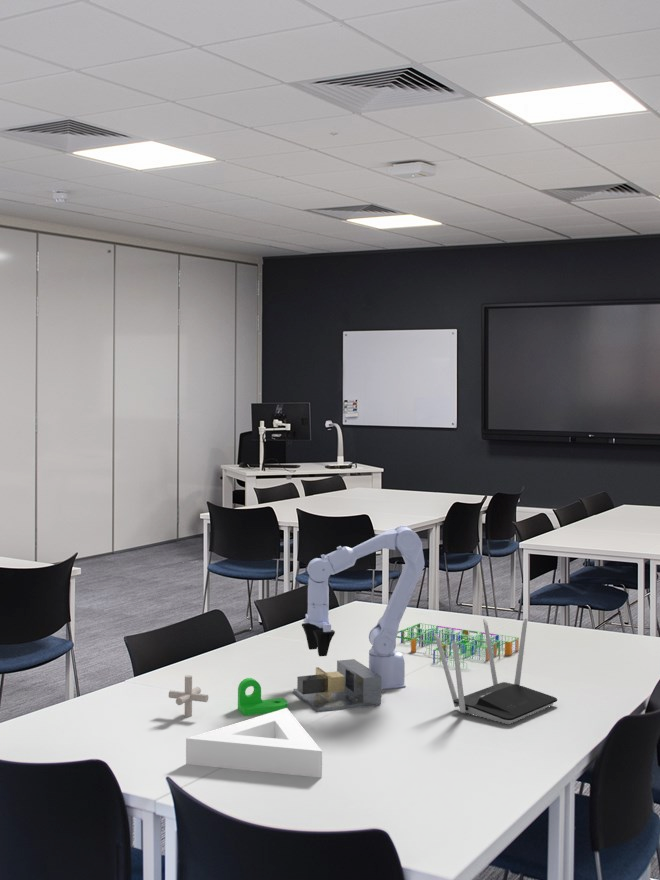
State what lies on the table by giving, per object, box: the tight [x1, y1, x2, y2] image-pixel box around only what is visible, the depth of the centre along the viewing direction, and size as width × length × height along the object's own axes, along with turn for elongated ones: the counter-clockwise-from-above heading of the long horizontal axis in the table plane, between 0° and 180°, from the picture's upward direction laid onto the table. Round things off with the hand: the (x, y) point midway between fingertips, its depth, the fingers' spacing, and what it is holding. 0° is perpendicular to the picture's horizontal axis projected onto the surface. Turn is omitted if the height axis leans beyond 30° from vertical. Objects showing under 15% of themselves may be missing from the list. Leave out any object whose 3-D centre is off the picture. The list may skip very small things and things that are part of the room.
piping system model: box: [396, 622, 520, 669], centre depth 311 cm, size 35×30×5 cm
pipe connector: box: [168, 674, 209, 718], centre depth 246 cm, size 10×10×10 cm
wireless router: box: [434, 618, 558, 725], centre depth 256 cm, size 34×23×20 cm
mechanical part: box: [237, 677, 288, 717], centre depth 251 cm, size 12×6×8 cm, turn 111°
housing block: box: [293, 658, 382, 713], centre depth 262 cm, size 18×18×8 cm
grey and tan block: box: [296, 666, 345, 700], centre depth 260 cm, size 11×9×6 cm
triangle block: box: [185, 707, 323, 778], centre depth 217 cm, size 30×26×6 cm
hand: (317, 652), depth 272 cm, fingers open, 7 cm apart
